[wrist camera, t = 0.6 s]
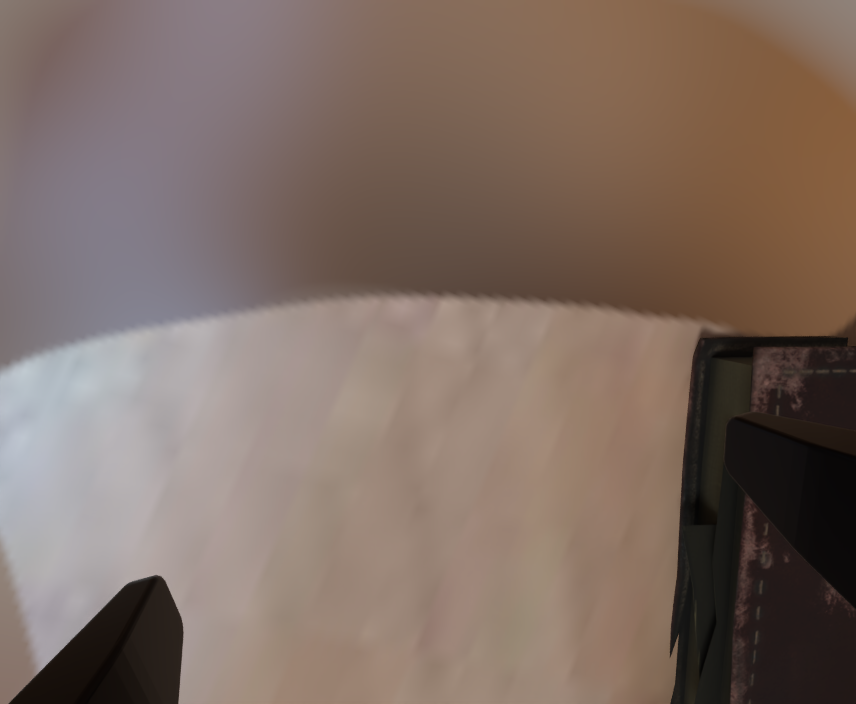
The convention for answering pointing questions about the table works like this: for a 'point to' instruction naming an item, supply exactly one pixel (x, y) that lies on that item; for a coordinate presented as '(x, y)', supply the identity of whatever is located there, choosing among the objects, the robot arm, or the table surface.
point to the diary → (757, 537)
